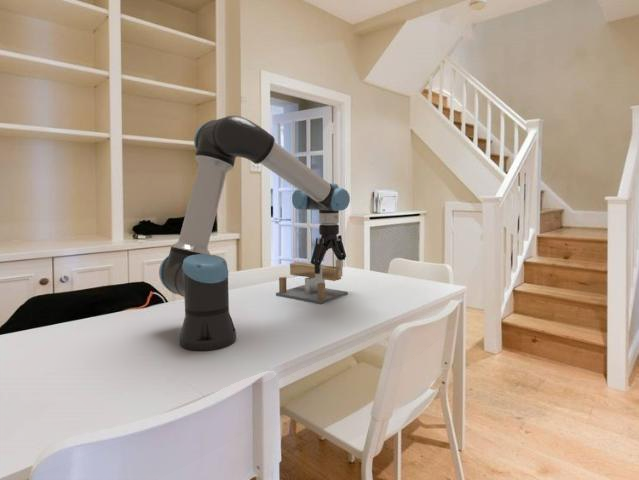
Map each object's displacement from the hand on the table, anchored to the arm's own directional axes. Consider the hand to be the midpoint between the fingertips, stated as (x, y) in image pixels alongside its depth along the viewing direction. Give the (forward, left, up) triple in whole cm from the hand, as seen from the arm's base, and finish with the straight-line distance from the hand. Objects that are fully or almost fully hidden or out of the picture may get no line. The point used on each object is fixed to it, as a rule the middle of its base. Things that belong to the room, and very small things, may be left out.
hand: (329, 278), depth 163 cm
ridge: (0, +7, -7) cm, 10 cm away
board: (-2, +7, -7) cm, 10 cm away
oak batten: (0, +7, 0) cm, 7 cm away
